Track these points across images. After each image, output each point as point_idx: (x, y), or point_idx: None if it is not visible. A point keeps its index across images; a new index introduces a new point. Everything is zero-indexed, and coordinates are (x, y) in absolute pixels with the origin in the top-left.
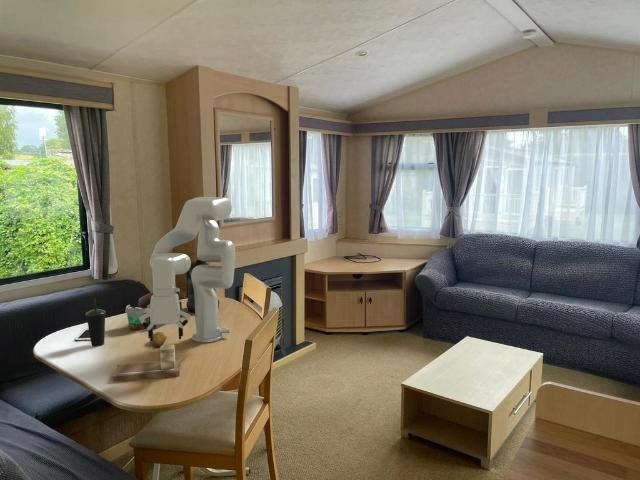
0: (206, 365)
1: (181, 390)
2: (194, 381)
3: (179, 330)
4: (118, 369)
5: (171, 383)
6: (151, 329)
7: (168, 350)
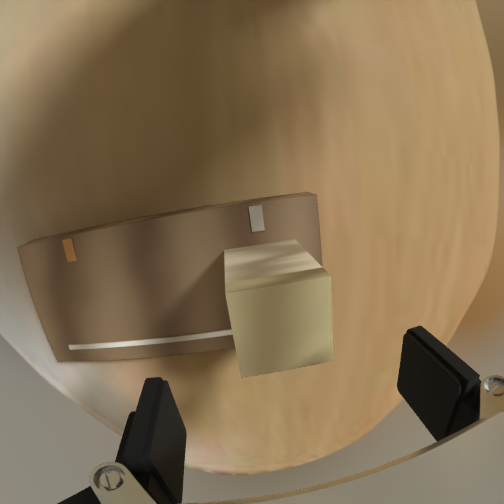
0: (418, 215)
1: (330, 414)
2: (372, 360)
3: (438, 435)
4: (42, 299)
5: (293, 377)
6: (166, 502)
7: (296, 363)
